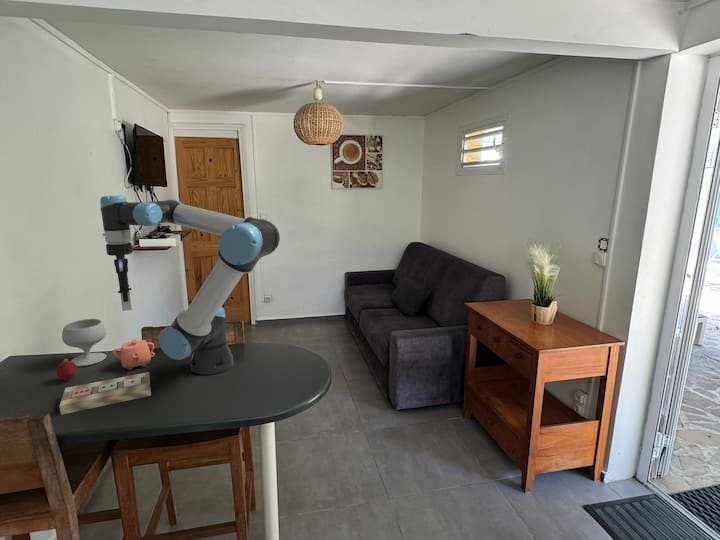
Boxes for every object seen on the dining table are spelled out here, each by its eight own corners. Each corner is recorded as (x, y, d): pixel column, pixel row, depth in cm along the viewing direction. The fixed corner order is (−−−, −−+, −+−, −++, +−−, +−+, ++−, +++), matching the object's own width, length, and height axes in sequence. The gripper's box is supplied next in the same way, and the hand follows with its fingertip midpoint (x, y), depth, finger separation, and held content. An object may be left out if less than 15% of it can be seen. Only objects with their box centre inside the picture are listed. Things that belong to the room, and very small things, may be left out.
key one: (141, 385, 139) (140, 376, 138) (142, 391, 135) (140, 382, 134) (125, 388, 137) (123, 379, 136) (124, 395, 132) (123, 386, 132)
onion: (67, 385, 140) (64, 363, 138) (53, 383, 141) (50, 361, 139) (82, 377, 145) (79, 356, 144) (68, 375, 146) (65, 354, 145)
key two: (118, 390, 136) (116, 381, 135) (117, 396, 132) (116, 387, 131) (100, 393, 134) (99, 384, 133) (99, 400, 129) (97, 391, 129)
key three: (93, 395, 133) (91, 386, 132) (91, 402, 128) (90, 393, 128) (74, 398, 130) (73, 389, 130) (72, 406, 126) (71, 396, 125)
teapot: (137, 374, 148) (134, 349, 146) (112, 369, 151) (108, 345, 149) (161, 360, 159) (159, 337, 156) (137, 356, 162) (134, 333, 160)
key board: (149, 379, 143) (149, 372, 143) (150, 395, 133) (149, 387, 132) (67, 396, 132) (65, 388, 132) (61, 414, 122) (59, 405, 121)
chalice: (62, 371, 150) (55, 332, 147) (71, 356, 162) (65, 320, 159) (106, 364, 155) (101, 327, 152) (111, 350, 168) (106, 315, 165)
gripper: (106, 240, 141) (115, 306, 146) (104, 246, 130) (113, 316, 135) (131, 239, 144) (139, 303, 149) (131, 244, 133) (139, 313, 138)
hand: (127, 309), depth 142 cm, fingers closed
